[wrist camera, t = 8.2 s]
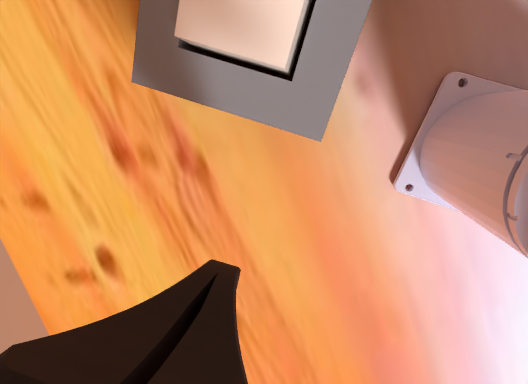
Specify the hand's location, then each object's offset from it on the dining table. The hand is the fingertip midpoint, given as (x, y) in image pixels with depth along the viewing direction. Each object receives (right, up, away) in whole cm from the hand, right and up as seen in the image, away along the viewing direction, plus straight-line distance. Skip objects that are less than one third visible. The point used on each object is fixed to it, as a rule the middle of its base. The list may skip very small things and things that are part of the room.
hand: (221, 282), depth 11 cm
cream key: (+1, +15, +4) cm, 15 cm away
